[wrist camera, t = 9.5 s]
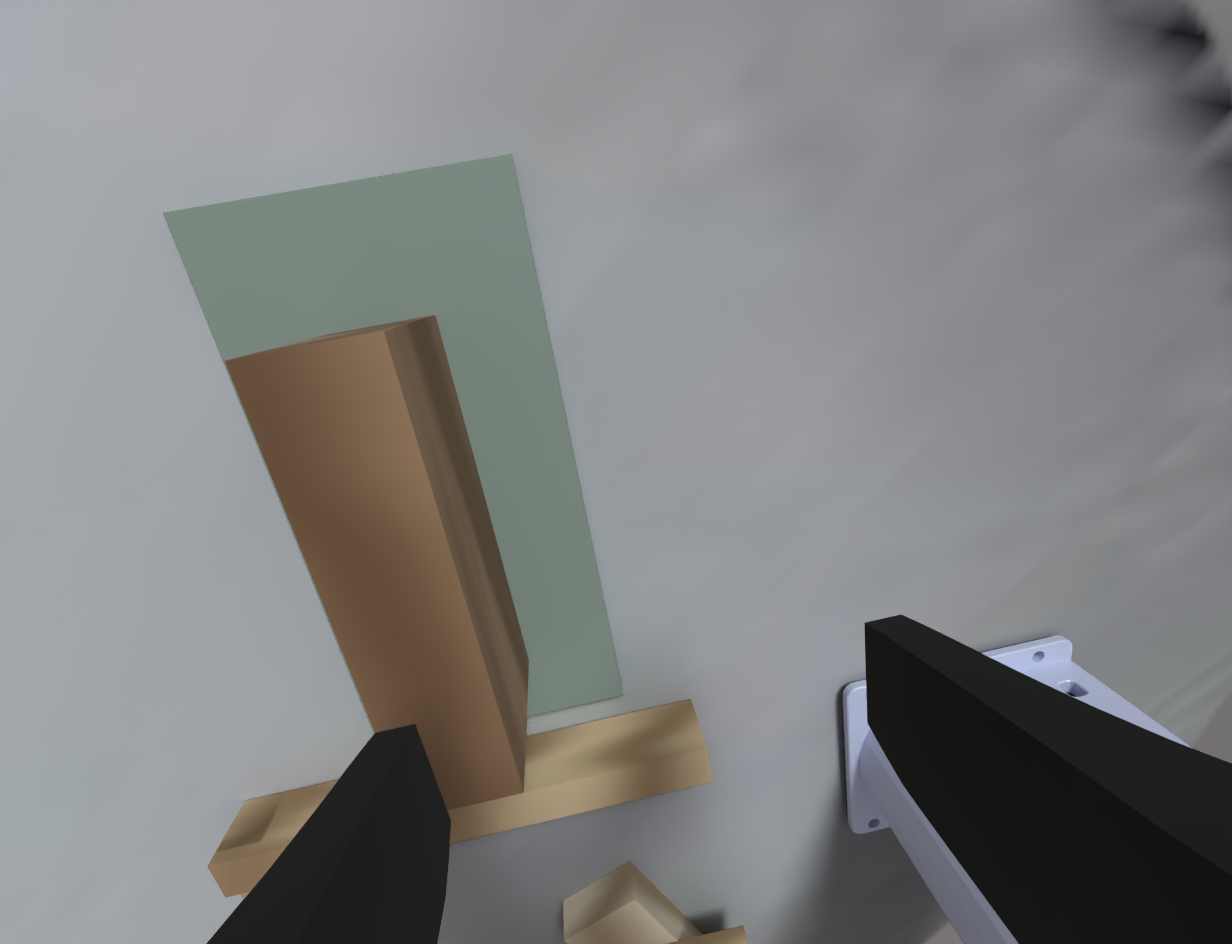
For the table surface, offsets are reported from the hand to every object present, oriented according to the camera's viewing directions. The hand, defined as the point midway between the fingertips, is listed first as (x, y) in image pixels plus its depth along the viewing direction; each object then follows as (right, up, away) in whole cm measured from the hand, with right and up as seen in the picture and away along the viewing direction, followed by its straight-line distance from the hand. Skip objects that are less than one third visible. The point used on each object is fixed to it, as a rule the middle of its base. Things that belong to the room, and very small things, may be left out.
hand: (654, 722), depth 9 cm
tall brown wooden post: (-6, +3, +9) cm, 11 cm away
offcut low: (+1, -17, +18) cm, 25 cm away
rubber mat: (-6, +3, +9) cm, 12 cm away
